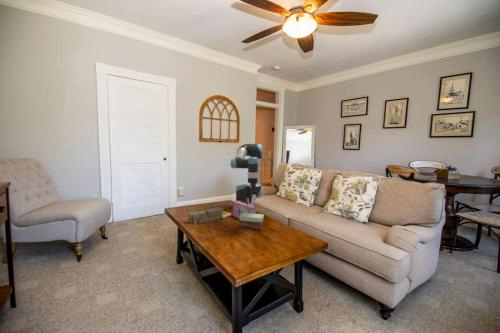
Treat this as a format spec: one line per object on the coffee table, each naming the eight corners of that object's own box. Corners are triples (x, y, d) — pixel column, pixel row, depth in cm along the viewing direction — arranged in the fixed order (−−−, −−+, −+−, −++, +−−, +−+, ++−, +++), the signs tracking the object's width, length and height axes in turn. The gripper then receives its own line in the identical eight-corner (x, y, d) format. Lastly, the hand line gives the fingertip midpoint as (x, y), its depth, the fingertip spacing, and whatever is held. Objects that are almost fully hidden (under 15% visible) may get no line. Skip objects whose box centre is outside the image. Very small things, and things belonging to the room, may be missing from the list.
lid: (242, 217, 181) (242, 212, 181) (263, 219, 177) (263, 214, 177) (239, 221, 171) (239, 216, 171) (261, 223, 167) (261, 218, 167)
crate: (242, 224, 180) (243, 216, 179) (262, 226, 176) (262, 218, 176) (240, 227, 173) (240, 219, 172) (261, 229, 169) (261, 221, 169)
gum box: (231, 215, 201) (231, 200, 200) (238, 214, 207) (238, 199, 205) (248, 223, 183) (248, 206, 182) (255, 221, 188) (256, 205, 187)
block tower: (192, 225, 178) (223, 217, 196) (191, 215, 177) (223, 208, 195) (188, 222, 184) (219, 215, 202) (187, 212, 183) (218, 206, 201)
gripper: (251, 175, 184) (250, 200, 186) (243, 179, 160) (243, 208, 162) (260, 175, 182) (259, 201, 184) (254, 180, 158) (253, 209, 160)
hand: (252, 205), depth 173 cm, fingers open, 13 cm apart
